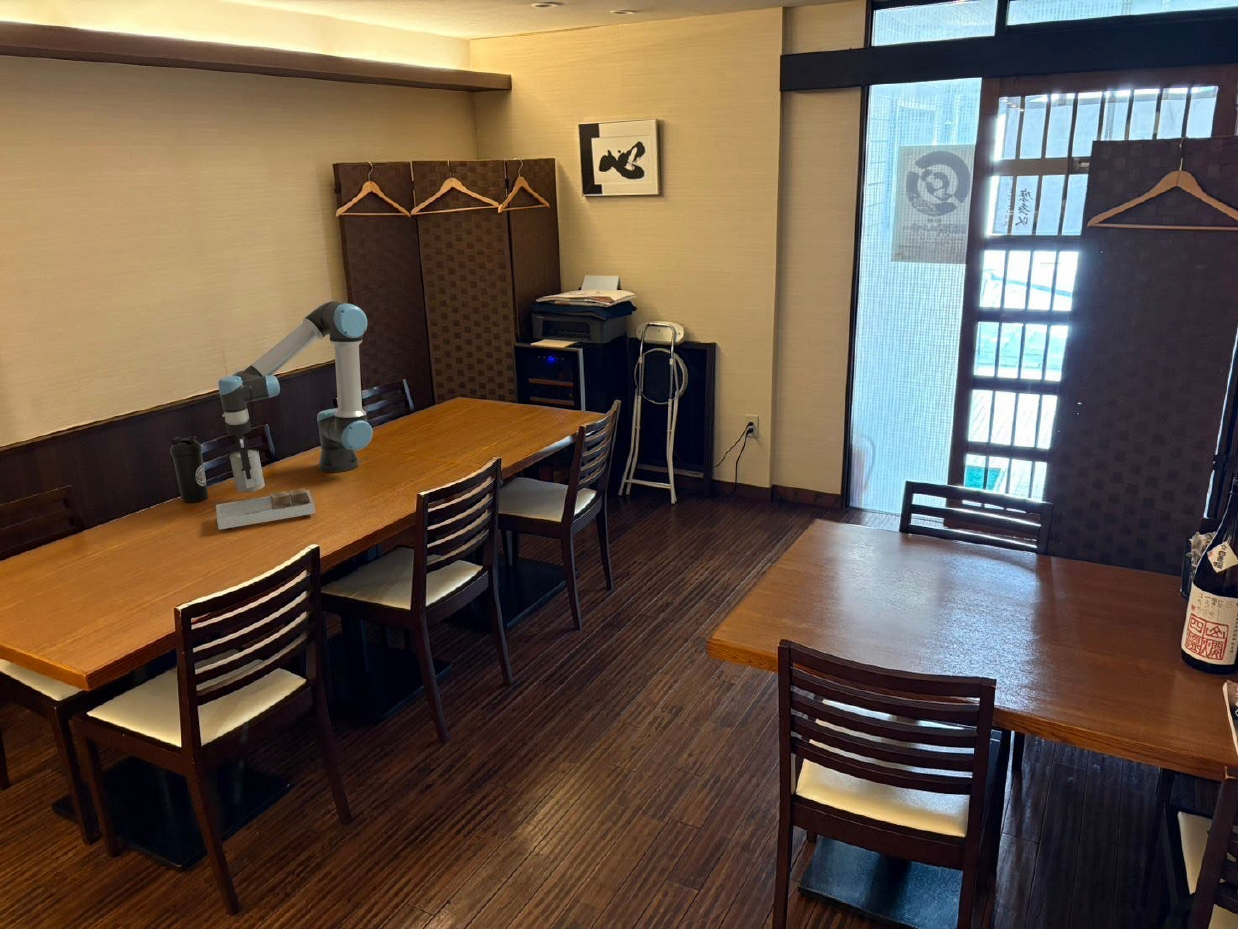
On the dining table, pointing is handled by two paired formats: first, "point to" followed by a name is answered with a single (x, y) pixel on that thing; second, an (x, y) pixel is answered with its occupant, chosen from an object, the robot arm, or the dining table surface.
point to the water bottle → (189, 469)
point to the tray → (258, 511)
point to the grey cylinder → (239, 474)
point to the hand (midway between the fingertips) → (249, 482)
